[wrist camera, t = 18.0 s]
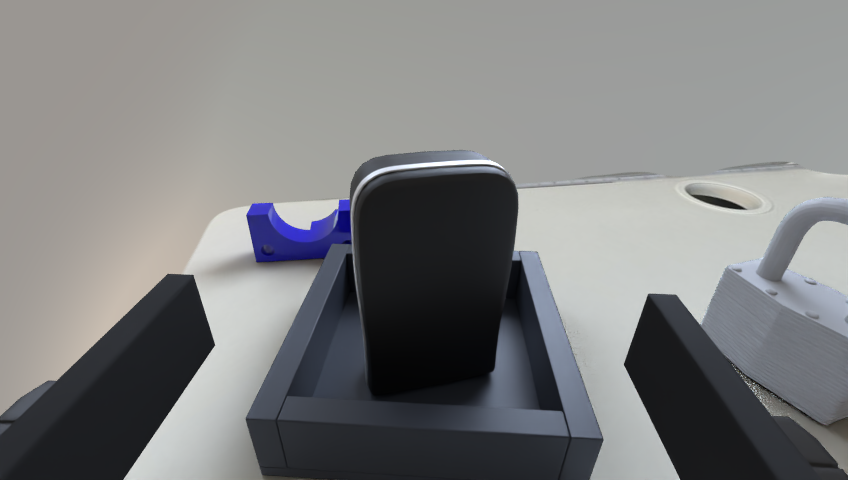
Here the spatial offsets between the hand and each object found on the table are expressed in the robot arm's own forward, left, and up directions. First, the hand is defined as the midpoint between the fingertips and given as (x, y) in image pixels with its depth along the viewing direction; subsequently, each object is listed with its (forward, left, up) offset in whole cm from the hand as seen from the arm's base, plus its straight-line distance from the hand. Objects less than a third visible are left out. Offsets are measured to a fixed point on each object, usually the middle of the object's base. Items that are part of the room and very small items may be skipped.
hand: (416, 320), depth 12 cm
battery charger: (0, +7, -9) cm, 11 cm away
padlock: (+19, +8, -9) cm, 23 cm away
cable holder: (-10, +19, -9) cm, 23 cm away
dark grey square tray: (0, +7, -9) cm, 12 cm away
